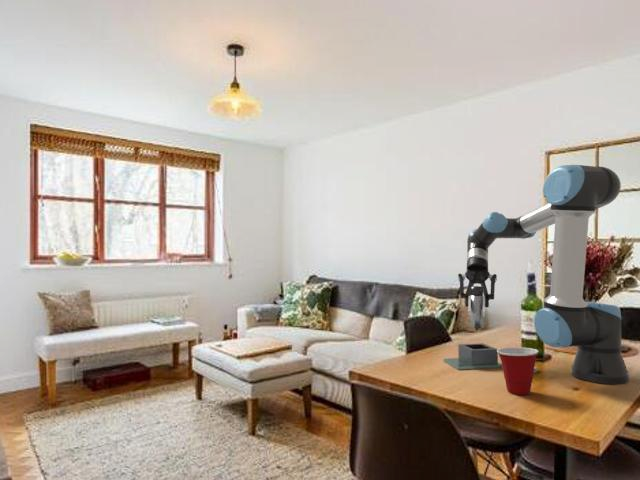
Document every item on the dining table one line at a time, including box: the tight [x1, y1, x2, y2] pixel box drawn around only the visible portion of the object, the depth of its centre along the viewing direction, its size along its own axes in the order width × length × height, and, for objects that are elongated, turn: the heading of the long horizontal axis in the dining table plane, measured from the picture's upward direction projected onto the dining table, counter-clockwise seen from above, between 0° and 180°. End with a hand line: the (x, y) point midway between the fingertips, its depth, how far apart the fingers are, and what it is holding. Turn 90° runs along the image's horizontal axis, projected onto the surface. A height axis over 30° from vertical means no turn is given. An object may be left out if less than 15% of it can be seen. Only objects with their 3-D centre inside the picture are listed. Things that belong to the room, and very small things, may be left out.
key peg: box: [470, 285, 484, 329], centre depth 158 cm, size 4×4×14 cm
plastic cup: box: [497, 346, 539, 396], centre depth 127 cm, size 11×11×12 cm
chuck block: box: [443, 343, 503, 371], centre depth 157 cm, size 11×16×6 cm
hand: (476, 313), depth 154 cm, fingers closed on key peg, 4 cm apart
